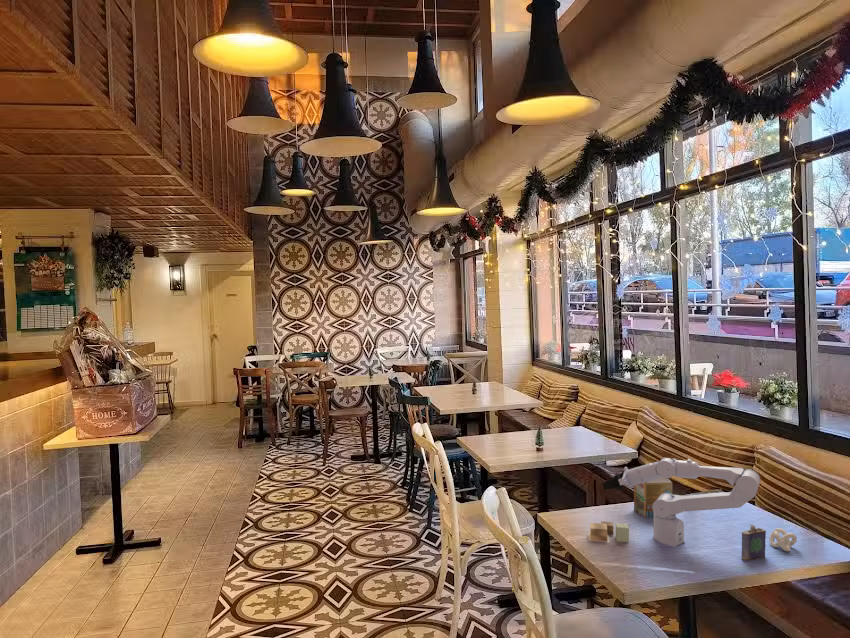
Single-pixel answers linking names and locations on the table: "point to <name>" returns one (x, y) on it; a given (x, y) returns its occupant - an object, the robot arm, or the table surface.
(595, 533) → the oak block
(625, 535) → the sage block
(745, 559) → the flask
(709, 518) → the table surface
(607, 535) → the build mat
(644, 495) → the milk carton
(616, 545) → the table surface
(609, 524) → the walnut block
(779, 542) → the knot
